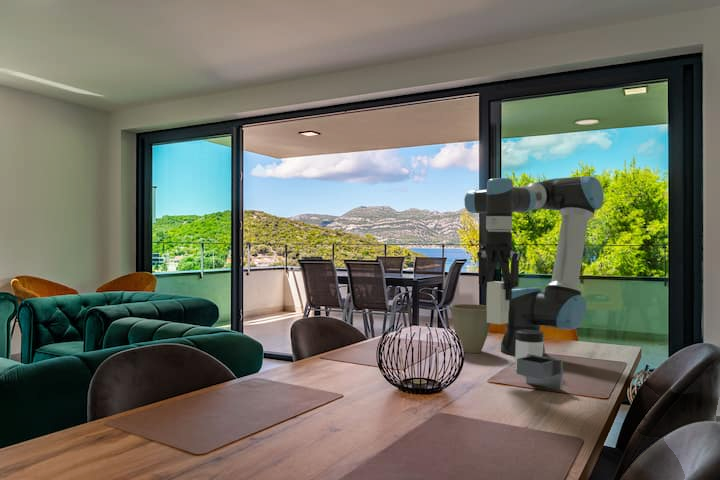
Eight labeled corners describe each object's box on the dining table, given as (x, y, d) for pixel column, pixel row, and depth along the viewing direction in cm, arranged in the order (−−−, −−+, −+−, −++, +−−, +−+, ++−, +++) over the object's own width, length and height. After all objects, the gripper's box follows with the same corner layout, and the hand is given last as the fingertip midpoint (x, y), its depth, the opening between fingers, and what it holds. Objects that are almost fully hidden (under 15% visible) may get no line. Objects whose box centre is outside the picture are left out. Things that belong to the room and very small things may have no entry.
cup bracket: (528, 382, 155) (529, 353, 155) (562, 389, 148) (563, 360, 148) (512, 387, 149) (512, 358, 149) (546, 395, 142) (547, 365, 142)
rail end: (494, 320, 165) (495, 281, 165) (508, 322, 161) (508, 282, 161) (486, 322, 162) (487, 281, 161) (499, 324, 158) (500, 283, 158)
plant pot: (447, 353, 191) (448, 308, 191) (452, 345, 205) (453, 303, 205) (491, 357, 187) (492, 310, 187) (493, 348, 201) (494, 305, 201)
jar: (549, 371, 168) (550, 332, 168) (534, 375, 163) (534, 335, 163) (524, 365, 175) (524, 328, 175) (508, 369, 170) (509, 330, 170)
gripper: (466, 230, 165) (465, 308, 165) (519, 231, 152) (517, 314, 153) (480, 231, 170) (479, 305, 170) (532, 231, 157) (531, 312, 158)
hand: (497, 309), depth 161 cm, fingers closed on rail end, 4 cm apart
